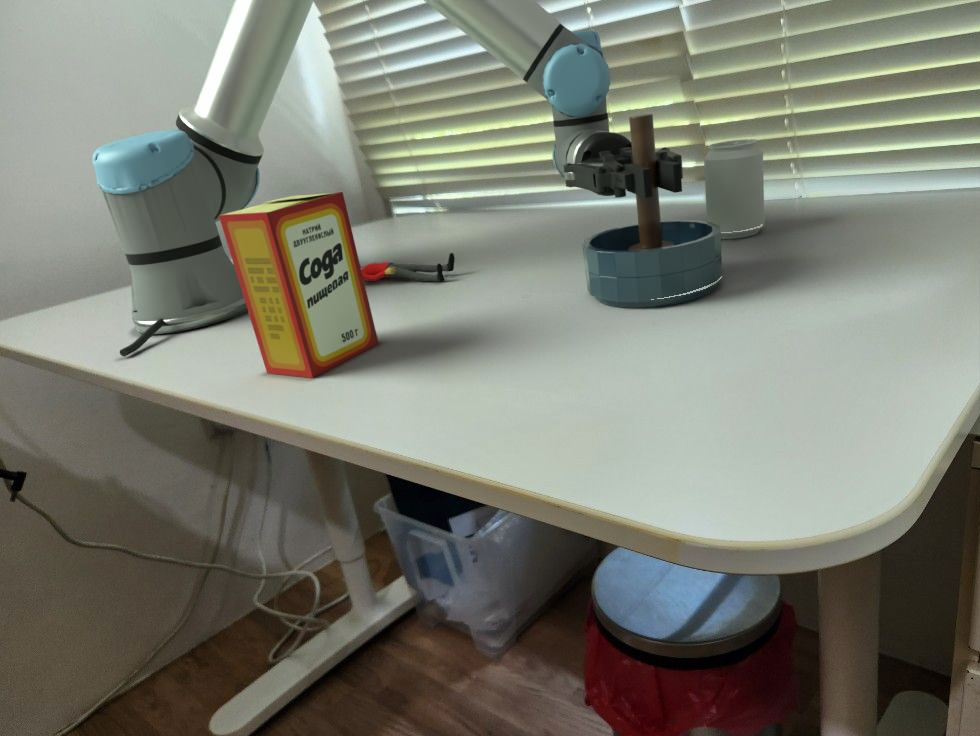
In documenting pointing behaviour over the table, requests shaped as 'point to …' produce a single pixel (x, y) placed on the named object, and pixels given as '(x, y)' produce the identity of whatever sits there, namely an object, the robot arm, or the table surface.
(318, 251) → the baking soda box
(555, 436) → the table surface
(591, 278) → the bowl
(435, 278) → the person figure
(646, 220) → the muddler
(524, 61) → the robot arm
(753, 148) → the can
